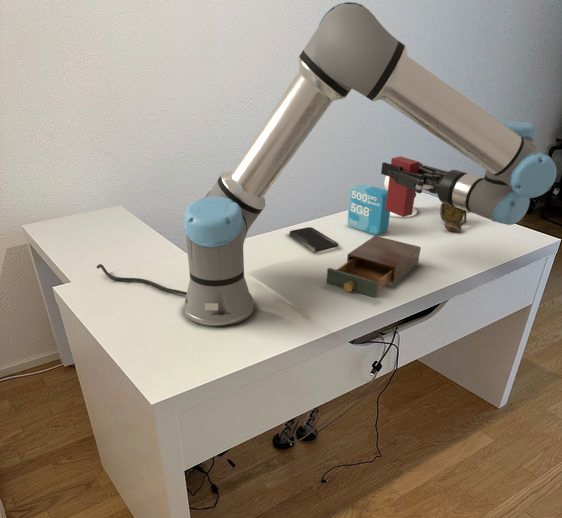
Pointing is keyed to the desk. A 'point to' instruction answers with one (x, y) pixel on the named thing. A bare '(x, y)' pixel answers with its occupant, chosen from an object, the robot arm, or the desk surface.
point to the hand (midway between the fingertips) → (388, 166)
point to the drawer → (360, 277)
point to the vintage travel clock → (452, 217)
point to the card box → (401, 189)
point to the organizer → (388, 254)
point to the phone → (313, 239)
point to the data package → (368, 209)
